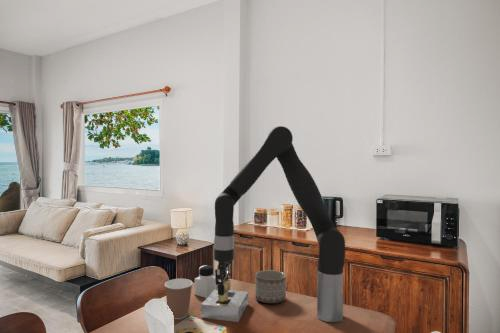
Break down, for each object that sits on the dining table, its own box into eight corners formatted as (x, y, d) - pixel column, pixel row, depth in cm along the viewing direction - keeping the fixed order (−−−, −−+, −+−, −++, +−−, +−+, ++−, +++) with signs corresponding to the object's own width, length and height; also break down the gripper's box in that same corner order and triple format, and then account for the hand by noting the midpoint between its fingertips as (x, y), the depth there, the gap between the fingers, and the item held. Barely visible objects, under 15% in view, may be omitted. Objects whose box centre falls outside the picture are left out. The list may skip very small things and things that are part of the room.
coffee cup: (176, 307, 136) (176, 276, 135) (197, 312, 131) (198, 281, 131) (158, 317, 126) (158, 285, 126) (181, 324, 122) (181, 290, 122)
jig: (247, 304, 139) (248, 291, 139) (238, 322, 124) (238, 308, 124) (214, 300, 142) (214, 288, 142) (201, 317, 127) (201, 304, 127)
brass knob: (231, 305, 132) (232, 279, 132) (227, 311, 126) (228, 284, 126) (218, 303, 133) (218, 278, 133) (213, 309, 128) (214, 282, 127)
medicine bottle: (217, 293, 151) (217, 265, 150) (207, 298, 145) (207, 270, 144) (204, 289, 154) (205, 263, 154) (194, 294, 148) (194, 267, 148)
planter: (274, 308, 136) (275, 282, 136) (249, 300, 143) (249, 275, 143) (291, 298, 146) (291, 274, 146) (266, 291, 153) (266, 268, 153)
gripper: (228, 252, 122) (227, 300, 122) (238, 243, 136) (237, 286, 136) (208, 251, 123) (207, 298, 123) (220, 241, 137) (219, 284, 137)
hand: (223, 291), depth 130 cm, fingers closed on brass knob, 5 cm apart
